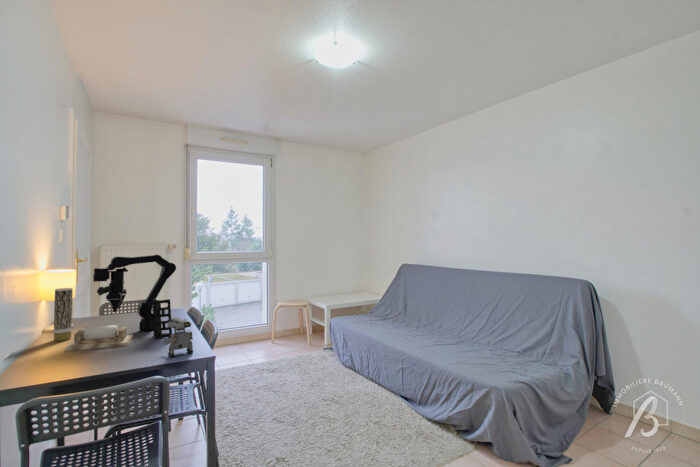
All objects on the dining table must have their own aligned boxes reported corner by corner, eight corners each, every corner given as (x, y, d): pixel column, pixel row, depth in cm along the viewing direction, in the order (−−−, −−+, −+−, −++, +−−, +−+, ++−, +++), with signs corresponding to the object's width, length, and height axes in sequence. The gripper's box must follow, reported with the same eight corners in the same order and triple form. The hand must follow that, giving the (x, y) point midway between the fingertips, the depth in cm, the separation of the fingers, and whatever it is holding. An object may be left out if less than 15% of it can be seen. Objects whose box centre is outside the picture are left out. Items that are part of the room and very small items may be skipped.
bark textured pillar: (61, 342, 171) (62, 290, 172) (49, 341, 172) (51, 289, 173) (74, 338, 178) (76, 288, 178) (63, 337, 179) (65, 287, 180)
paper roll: (117, 336, 173) (118, 324, 174) (115, 339, 168) (115, 326, 168) (87, 339, 168) (87, 326, 169) (83, 342, 163) (84, 328, 163)
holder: (176, 334, 185) (174, 297, 184) (168, 340, 178) (166, 300, 176) (157, 334, 186) (154, 296, 185) (147, 339, 179) (145, 300, 177)
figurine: (184, 348, 163) (185, 315, 163) (194, 354, 155) (195, 319, 155) (163, 352, 156) (163, 318, 157) (172, 359, 148) (173, 323, 149)
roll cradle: (132, 337, 179) (133, 324, 180) (128, 345, 167) (128, 331, 167) (74, 343, 170) (74, 329, 170) (64, 351, 157) (65, 336, 157)
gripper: (102, 279, 192) (102, 308, 191) (94, 283, 175) (93, 315, 174) (126, 278, 196) (126, 306, 196) (120, 282, 179) (120, 313, 179)
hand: (116, 310), depth 186 cm, fingers open, 9 cm apart
